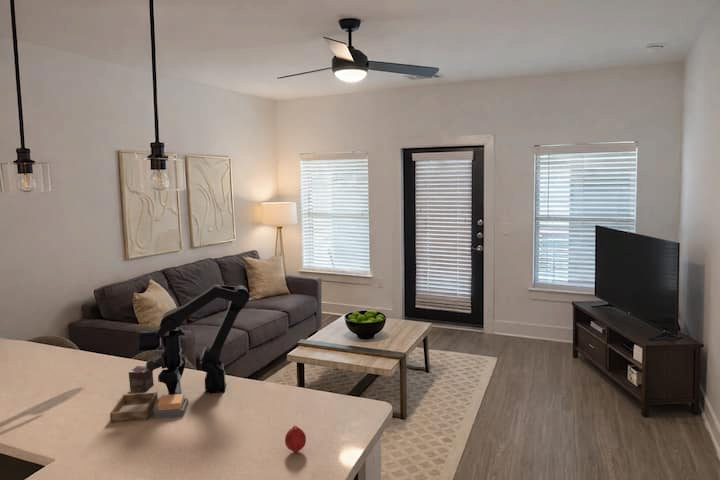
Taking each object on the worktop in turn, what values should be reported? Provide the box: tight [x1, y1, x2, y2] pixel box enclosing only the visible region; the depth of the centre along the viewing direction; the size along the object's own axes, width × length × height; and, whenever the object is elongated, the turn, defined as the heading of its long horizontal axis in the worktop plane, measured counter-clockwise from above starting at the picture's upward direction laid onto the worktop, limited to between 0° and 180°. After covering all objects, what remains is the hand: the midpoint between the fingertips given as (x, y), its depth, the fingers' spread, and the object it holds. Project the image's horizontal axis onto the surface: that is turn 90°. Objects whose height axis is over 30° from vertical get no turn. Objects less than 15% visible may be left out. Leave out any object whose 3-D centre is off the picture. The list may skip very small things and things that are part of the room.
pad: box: [157, 393, 186, 411], centre depth 168 cm, size 7×7×2 cm
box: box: [128, 365, 154, 393], centre depth 186 cm, size 6×6×7 cm
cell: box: [167, 374, 182, 395], centre depth 180 cm, size 4×4×8 cm
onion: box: [284, 425, 307, 454], centre depth 142 cm, size 6×6×8 cm
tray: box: [109, 391, 158, 423], centre depth 168 cm, size 11×14×3 cm
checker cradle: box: [153, 397, 189, 419], centre depth 168 cm, size 9×9×2 cm
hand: (174, 390), depth 180 cm, fingers open, 8 cm apart
